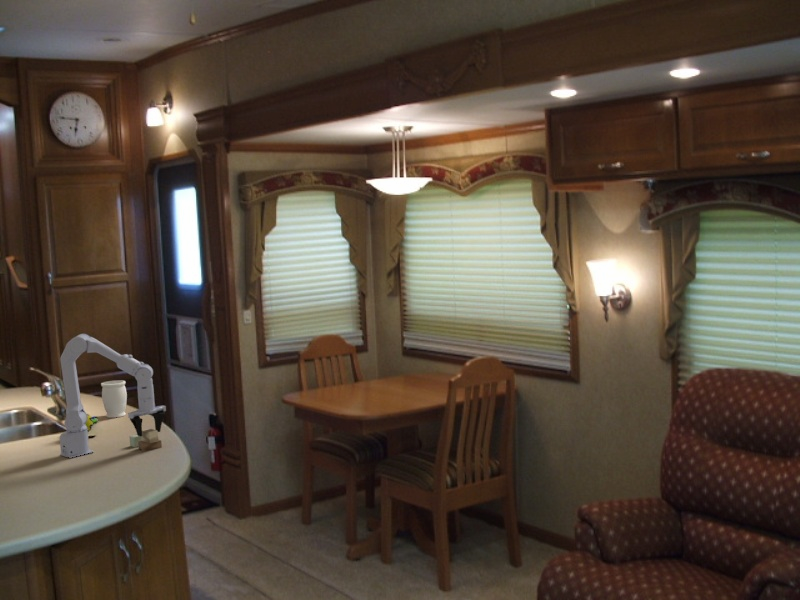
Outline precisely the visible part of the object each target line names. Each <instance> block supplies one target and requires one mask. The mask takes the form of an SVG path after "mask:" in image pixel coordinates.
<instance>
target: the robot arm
mask: <svg viewBox="0 0 800 600" xmlns="http://www.w3.org/2000/svg"><path fill="white" fill-rule="evenodd" d="M85 352H86V353H87V354H90V353H91V354H92V353H97V354H99V355H101V356H102V357H105V358H106V359H108V360H110V361H113V362H115V363H116V367H117V368H118V369H120V371H121V370H122V371H123V372H125V373H126V374H128V375H130V376H132V377H134V378H135V380H136V381H137V382H136V383H137V388H136V389H137V399H138V409H136V410H133V411H131V412H127V414H128V415H127V416H128V419H129V421H130V422H131V423H132V425H133V427H134V429H135V432H136V434H137V435H138V436H142V430H143V429H142V427H143V425H142V424H143V418H141V417H143V416H147V415H153V419H154V428H155V429H154V430H157V431H158V433H160V432H161V431H162V430H161V429H162V424H163V420H164V418H165V417H166V411H167V406H166V405H157V406H156V403H155V393H154V392H155V391H154V390H155V389H154V384H153V383H154V382H153V381H154V380H153V375H154V369H153V368H152V366H150V365H149V364H148V363H144V362H143V361H140V360H137V359H135V358H134V357H133V356H134V355H132V354H128V353H126V354H125V353H124V354H121V353H119V352H117V351H115V350H114V349H113V348H111V347H109V346H108V345H106V344H104V343H103V342H101V341H99V340H98V339H96V338H94V337H93V336H90V335H88V334H87V333H80V334H77V335H76V336H74V337H73V338H71V339H70V340H69V341H68V342H66V345H65V348H64V349H63V352H62V354H61V356H60V359H59V360H60V367H61V373H62V380H63V388H64V393H65V395H64V396H65V402H66V403H65V404H66V409H65V410H66V411H65V419H64V426H65V429H66V431H65V432H62V433H61V434H60V436H59V445H60V454H59V455H60V456H62V457H64V458H65V457H66V458H68V457H69V459H73V458H77V457H80V455H81V456H85V455H88V453H89V454H92V452H93V453H95V451H94V450H93V449H92V450H91V449H90V445H89V443H90V442H89V437H88V436H89V431H88V430H87V426H86V425H85V423H86V422H87V419H88V417H87V414H88V413H87V412H86V411H85V407H84V405H83V403H82V399H81V393H80V384H79V378H78V371H77V363H76V361H77V359H78V358H79V357H80V356H81V355H82V354H83V353H85ZM86 413H87V414H86ZM84 454H85V455H84ZM76 456H77V457H76ZM72 457H73V458H72Z"/></svg>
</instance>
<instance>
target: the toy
mask: <svg viewBox="0 0 800 600" xmlns="http://www.w3.org/2000/svg"><path fill="white" fill-rule="evenodd" d="M86 414H87V417H88V419H87V422H86V423H85V425H86V426H87V430H88V432H90V431H91V430H92V428H93V426H94V424H93V423H95V424H98V423H99V418H98V417H97V416H92V415H90V414H88V413H87V412H86ZM89 437H91V435H88V438H89Z"/></svg>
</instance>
